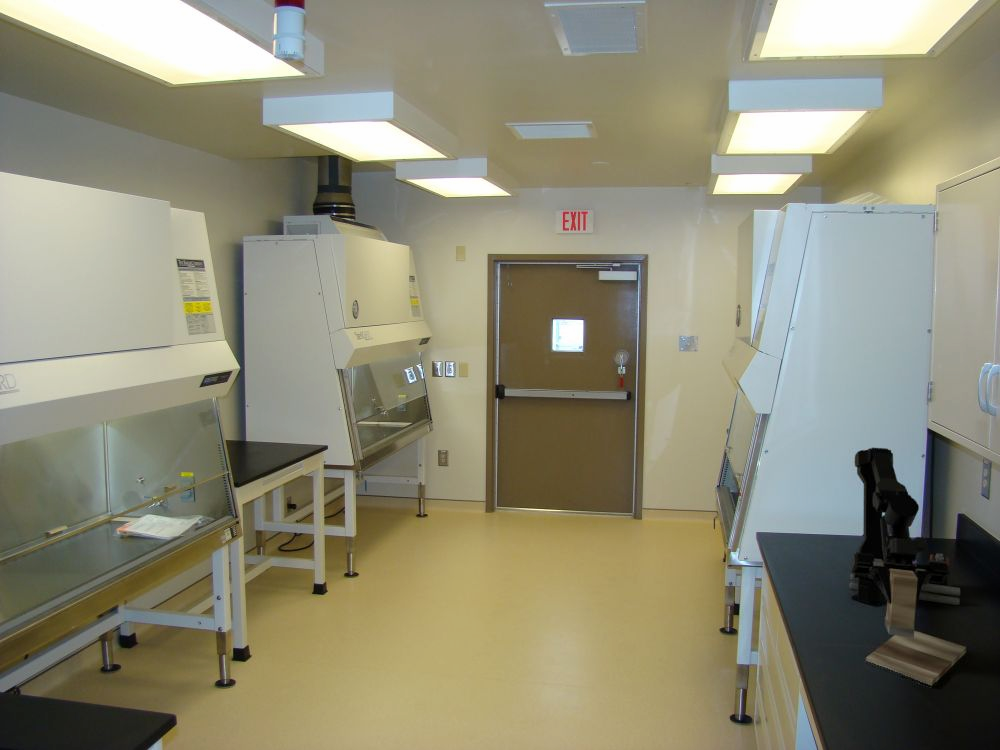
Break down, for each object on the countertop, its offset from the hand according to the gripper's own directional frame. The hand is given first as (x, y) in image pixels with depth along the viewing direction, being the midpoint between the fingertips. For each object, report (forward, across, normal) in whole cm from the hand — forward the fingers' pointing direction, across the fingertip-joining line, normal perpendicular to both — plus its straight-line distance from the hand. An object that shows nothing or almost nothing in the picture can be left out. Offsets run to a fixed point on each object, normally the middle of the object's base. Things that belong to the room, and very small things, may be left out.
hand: (902, 604), depth 162 cm
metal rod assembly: (-19, +9, +39) cm, 44 cm away
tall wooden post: (+4, 0, +6) cm, 7 cm away
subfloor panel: (+7, +4, +12) cm, 15 cm away
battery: (-24, +19, +44) cm, 53 cm away
